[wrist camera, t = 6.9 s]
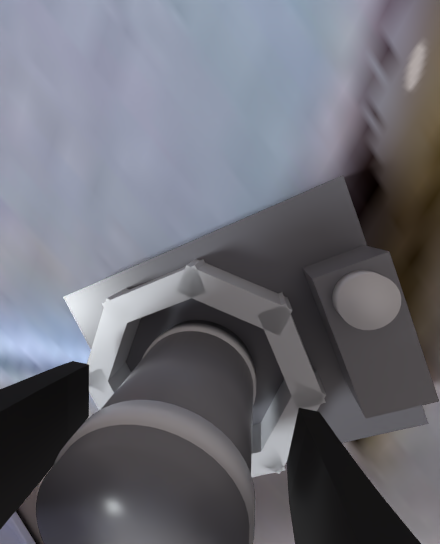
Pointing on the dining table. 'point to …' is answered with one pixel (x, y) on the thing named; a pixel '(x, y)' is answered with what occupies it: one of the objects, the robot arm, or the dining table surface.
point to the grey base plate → (277, 320)
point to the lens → (162, 451)
